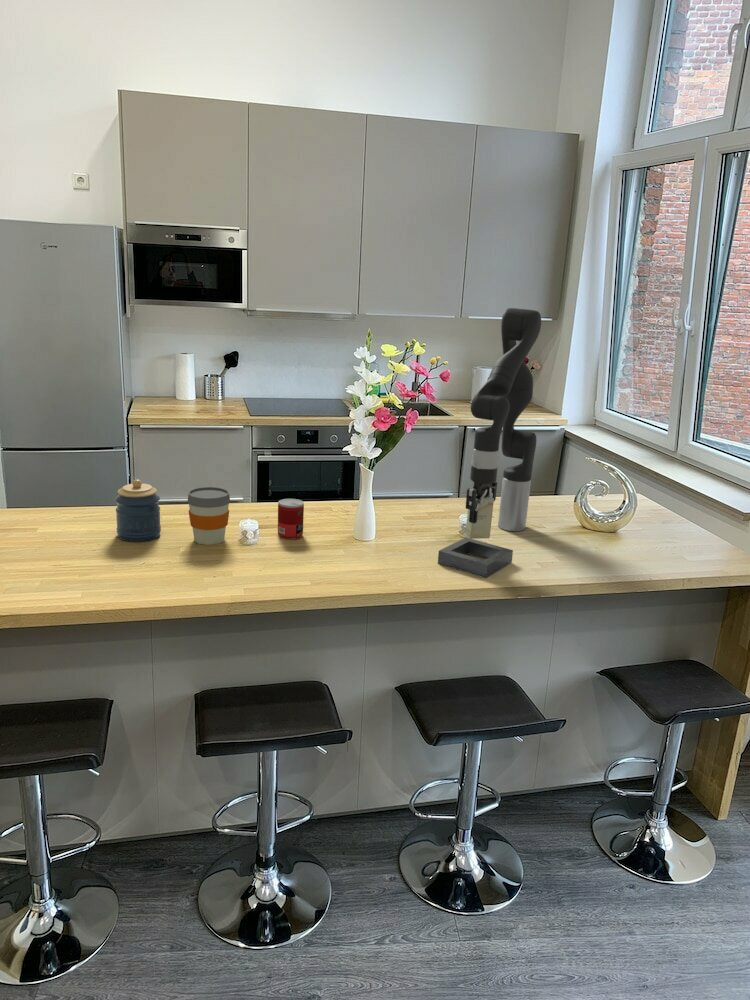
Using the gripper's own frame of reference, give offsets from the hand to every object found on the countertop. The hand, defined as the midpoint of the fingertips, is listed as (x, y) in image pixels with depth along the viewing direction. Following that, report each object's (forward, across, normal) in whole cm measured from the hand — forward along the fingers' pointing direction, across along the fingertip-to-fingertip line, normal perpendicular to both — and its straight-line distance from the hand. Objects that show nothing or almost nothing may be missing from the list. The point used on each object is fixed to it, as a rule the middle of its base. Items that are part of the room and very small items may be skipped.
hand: (479, 519), depth 226 cm
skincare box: (+5, 0, 0) cm, 5 cm away
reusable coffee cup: (+14, +40, -70) cm, 82 cm away
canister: (+14, +52, -88) cm, 103 cm away
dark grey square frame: (+14, 0, 0) cm, 14 cm away
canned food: (+14, +20, -55) cm, 60 cm away
